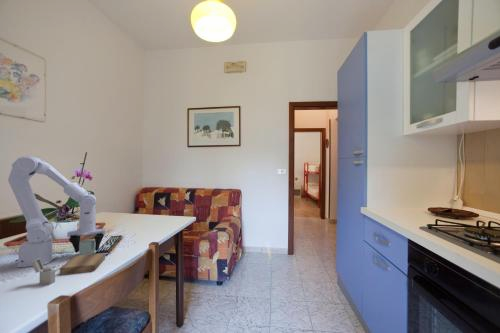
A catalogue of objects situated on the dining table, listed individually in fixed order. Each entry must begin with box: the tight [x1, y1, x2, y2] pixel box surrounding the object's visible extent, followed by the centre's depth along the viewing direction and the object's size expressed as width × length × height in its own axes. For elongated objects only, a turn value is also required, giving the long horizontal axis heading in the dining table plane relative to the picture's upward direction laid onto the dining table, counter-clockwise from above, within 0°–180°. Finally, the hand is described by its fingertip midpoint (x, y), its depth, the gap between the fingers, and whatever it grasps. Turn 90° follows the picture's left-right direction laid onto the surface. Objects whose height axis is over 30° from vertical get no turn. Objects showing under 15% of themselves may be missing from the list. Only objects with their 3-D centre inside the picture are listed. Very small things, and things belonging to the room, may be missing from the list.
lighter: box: [31, 258, 56, 285], centre depth 72 cm, size 7×2×8 cm, turn 87°
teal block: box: [78, 238, 96, 255], centre depth 95 cm, size 4×4×6 cm
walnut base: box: [59, 252, 106, 276], centre depth 84 cm, size 11×11×3 cm
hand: (87, 250), depth 95 cm, fingers open, 7 cm apart
